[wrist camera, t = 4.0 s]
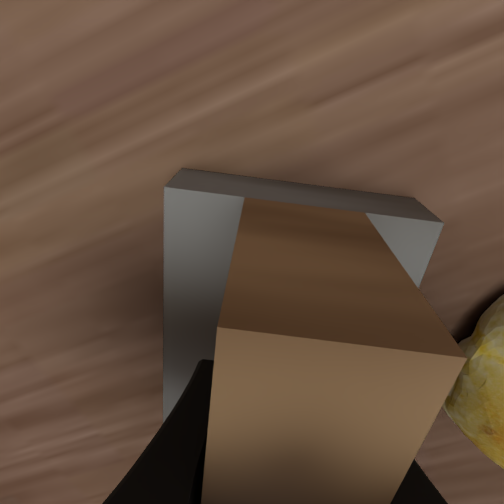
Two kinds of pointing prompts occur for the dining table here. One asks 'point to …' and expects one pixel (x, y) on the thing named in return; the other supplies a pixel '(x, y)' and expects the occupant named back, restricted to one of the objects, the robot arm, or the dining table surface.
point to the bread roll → (482, 385)
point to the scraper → (303, 335)
